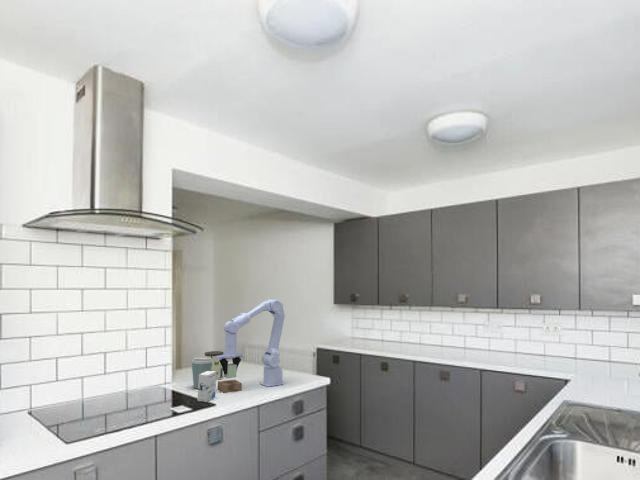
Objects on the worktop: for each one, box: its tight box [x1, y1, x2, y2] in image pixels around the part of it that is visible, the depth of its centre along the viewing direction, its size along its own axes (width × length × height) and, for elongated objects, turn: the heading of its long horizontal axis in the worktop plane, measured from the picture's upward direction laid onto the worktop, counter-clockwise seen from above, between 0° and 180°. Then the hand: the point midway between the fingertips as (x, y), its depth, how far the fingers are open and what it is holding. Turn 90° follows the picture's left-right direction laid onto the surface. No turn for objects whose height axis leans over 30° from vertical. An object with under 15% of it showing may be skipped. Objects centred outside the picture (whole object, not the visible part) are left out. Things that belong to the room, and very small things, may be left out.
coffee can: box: [204, 350, 225, 381], centre depth 237 cm, size 10×10×14 cm
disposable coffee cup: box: [190, 356, 213, 390], centre depth 216 cm, size 11×11×15 cm
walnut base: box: [217, 379, 243, 394], centre depth 211 cm, size 9×9×4 cm
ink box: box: [197, 371, 217, 403], centre depth 194 cm, size 9×5×12 cm, turn 168°
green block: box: [223, 362, 238, 379], centre depth 211 cm, size 4×4×6 cm
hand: (229, 373), depth 211 cm, fingers closed on green block, 4 cm apart
